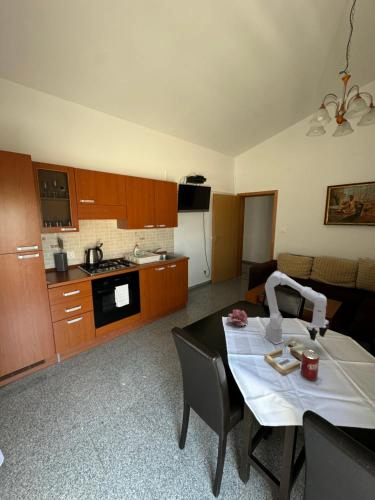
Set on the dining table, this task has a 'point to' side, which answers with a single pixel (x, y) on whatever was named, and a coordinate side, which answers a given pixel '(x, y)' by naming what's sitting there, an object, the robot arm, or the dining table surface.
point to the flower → (238, 318)
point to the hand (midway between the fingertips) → (317, 337)
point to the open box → (298, 350)
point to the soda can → (310, 365)
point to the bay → (277, 366)
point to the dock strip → (284, 362)
